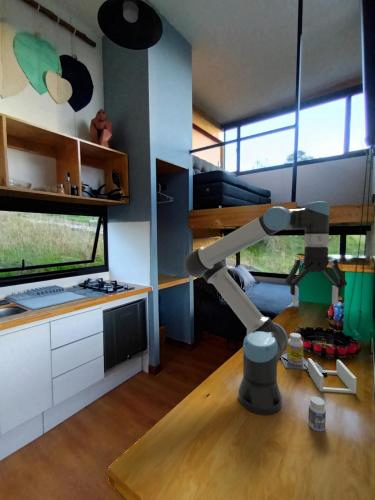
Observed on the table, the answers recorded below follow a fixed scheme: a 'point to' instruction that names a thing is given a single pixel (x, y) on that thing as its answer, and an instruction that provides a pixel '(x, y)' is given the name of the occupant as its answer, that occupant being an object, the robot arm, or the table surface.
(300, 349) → the supplement bottle
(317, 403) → the pill bottle
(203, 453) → the table surface
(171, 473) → the table surface
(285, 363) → the trivet
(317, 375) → the holder
